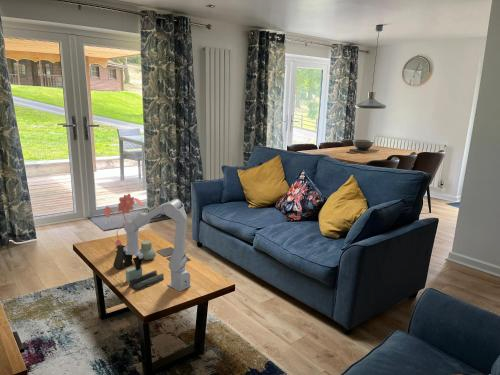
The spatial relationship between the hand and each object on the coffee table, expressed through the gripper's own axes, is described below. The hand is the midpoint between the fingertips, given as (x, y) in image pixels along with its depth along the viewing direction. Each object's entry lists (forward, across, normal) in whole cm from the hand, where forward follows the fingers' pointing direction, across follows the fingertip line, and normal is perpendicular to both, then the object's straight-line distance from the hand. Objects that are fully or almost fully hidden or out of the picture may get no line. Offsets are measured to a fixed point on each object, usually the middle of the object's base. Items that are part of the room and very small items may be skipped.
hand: (133, 267), depth 195 cm
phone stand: (+7, -18, +5) cm, 20 cm away
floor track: (+6, +8, +2) cm, 11 cm away
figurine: (+7, -37, +21) cm, 43 cm away
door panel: (+7, 0, 0) cm, 7 cm away
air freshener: (+7, -17, +20) cm, 27 cm away
